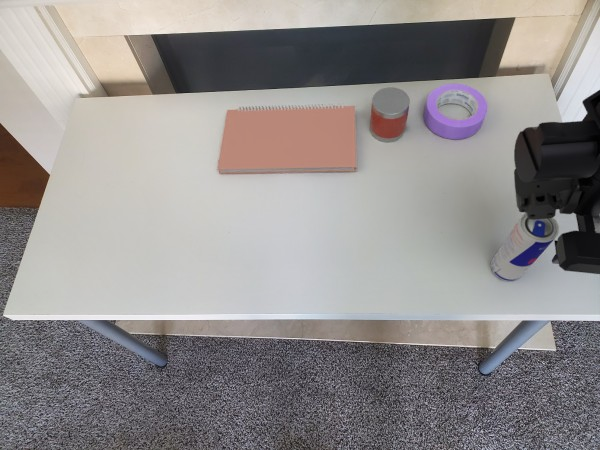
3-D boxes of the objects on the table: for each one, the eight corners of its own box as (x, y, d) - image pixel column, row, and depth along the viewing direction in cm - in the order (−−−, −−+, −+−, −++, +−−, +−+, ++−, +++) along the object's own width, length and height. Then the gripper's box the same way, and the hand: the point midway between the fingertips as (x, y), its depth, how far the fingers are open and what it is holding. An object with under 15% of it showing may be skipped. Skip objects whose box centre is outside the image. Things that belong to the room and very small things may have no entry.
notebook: (354, 108, 94) (355, 101, 93) (356, 172, 86) (356, 165, 84) (229, 111, 97) (227, 105, 95) (219, 174, 89) (217, 168, 87)
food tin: (405, 117, 92) (410, 87, 85) (404, 143, 89) (409, 115, 82) (371, 115, 93) (373, 86, 86) (368, 141, 90) (370, 113, 83)
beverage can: (519, 287, 72) (557, 246, 59) (486, 277, 73) (517, 234, 60) (523, 260, 74) (562, 214, 61) (492, 251, 76) (523, 204, 63)
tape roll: (478, 96, 93) (483, 82, 90) (486, 139, 87) (492, 126, 84) (421, 97, 94) (424, 83, 91) (425, 140, 89) (428, 127, 85)
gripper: (525, 98, 54) (487, 174, 68) (542, 232, 45) (495, 288, 59) (624, 103, 53) (565, 180, 66) (662, 243, 44) (585, 298, 57)
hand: (551, 232), depth 62 cm, fingers open, 9 cm apart
